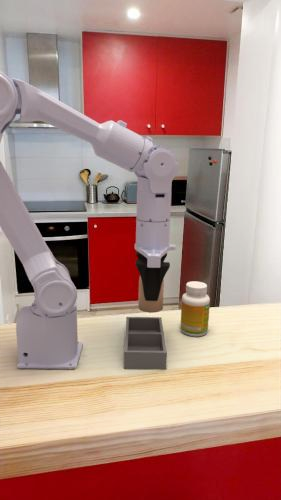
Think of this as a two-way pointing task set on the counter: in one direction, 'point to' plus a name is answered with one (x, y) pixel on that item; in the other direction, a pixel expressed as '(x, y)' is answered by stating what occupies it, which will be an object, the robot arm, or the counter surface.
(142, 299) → the tan capsule
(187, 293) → the supplement bottle
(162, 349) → the carrier
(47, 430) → the counter surface
